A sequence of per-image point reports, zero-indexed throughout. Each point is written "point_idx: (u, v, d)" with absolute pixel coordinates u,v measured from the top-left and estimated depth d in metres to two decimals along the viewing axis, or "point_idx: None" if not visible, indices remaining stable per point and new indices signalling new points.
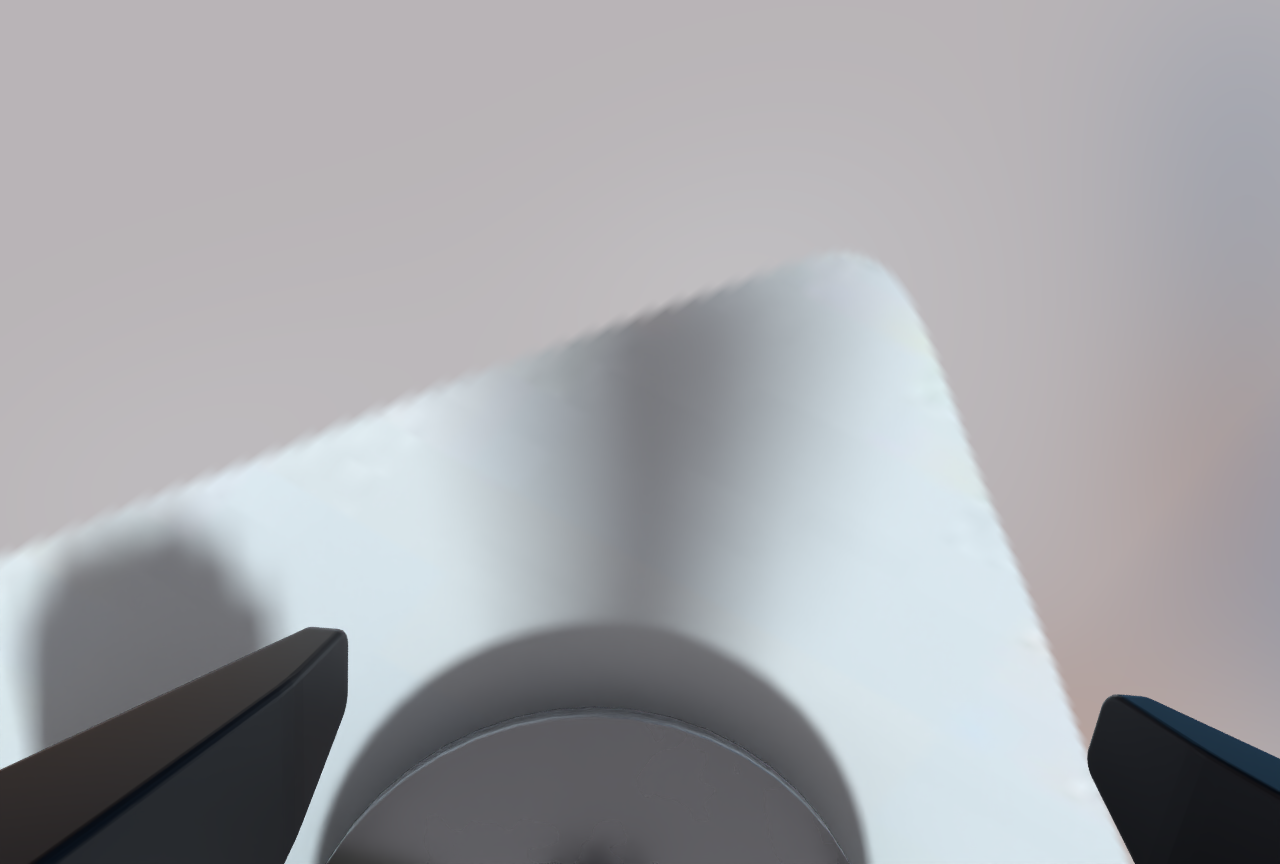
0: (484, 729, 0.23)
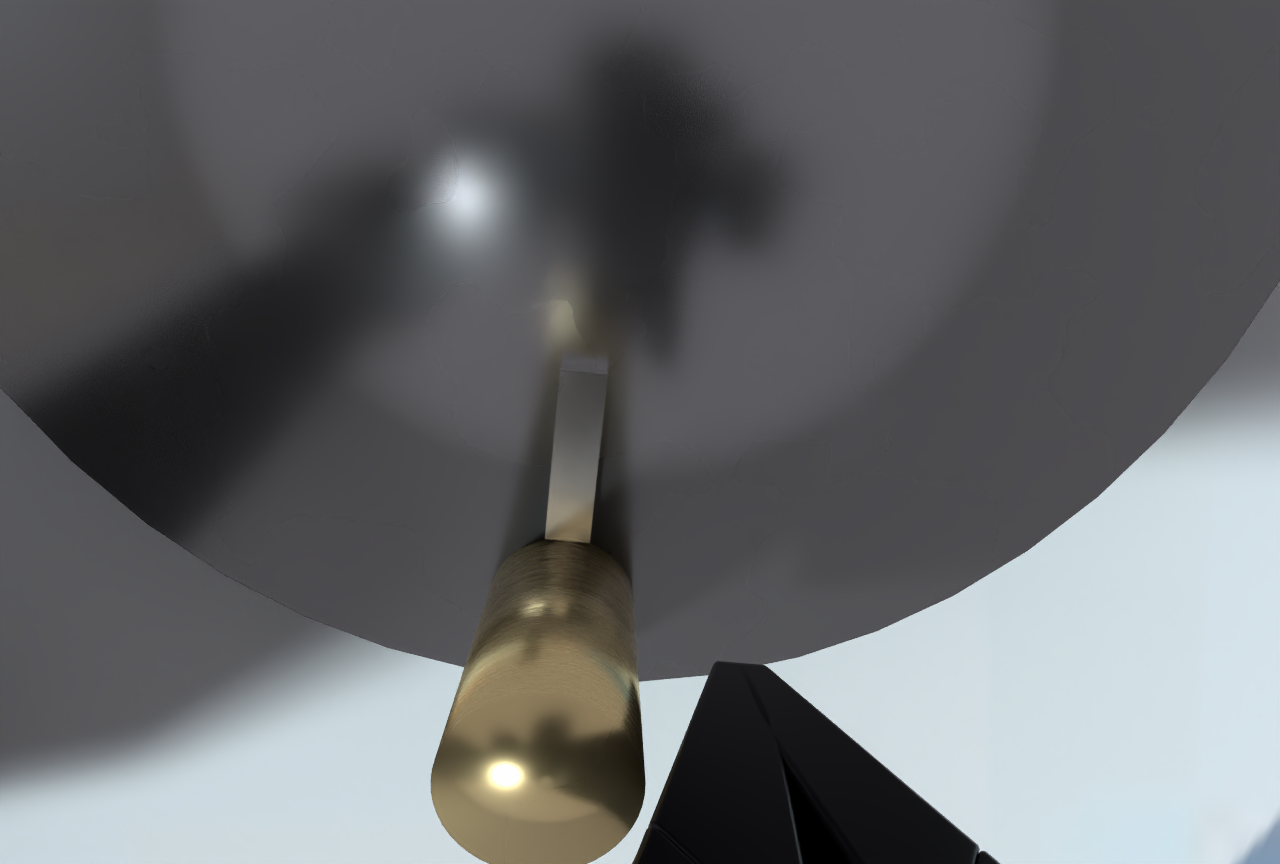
0: None
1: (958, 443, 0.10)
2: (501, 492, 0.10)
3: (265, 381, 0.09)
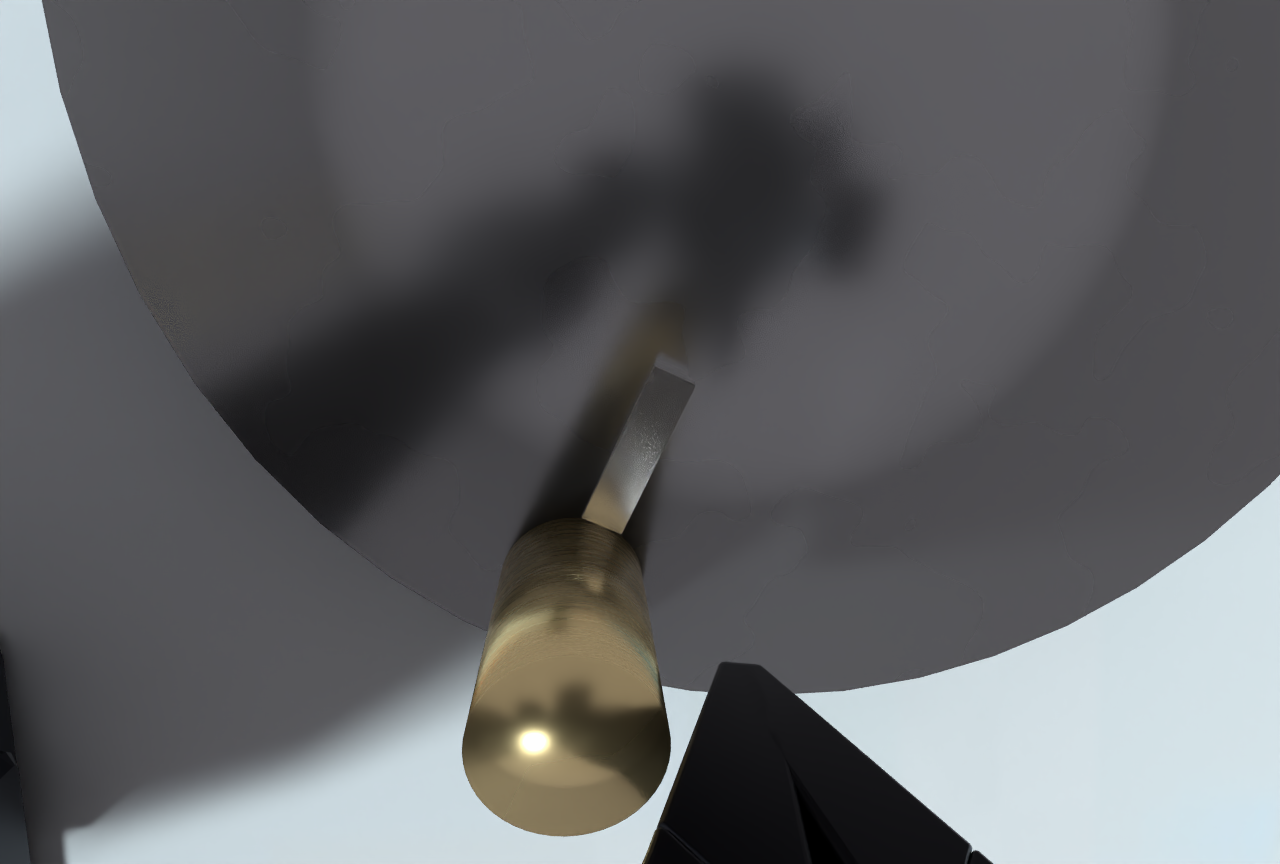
0: None
1: (970, 544, 0.11)
2: (556, 462, 0.10)
3: (370, 284, 0.09)
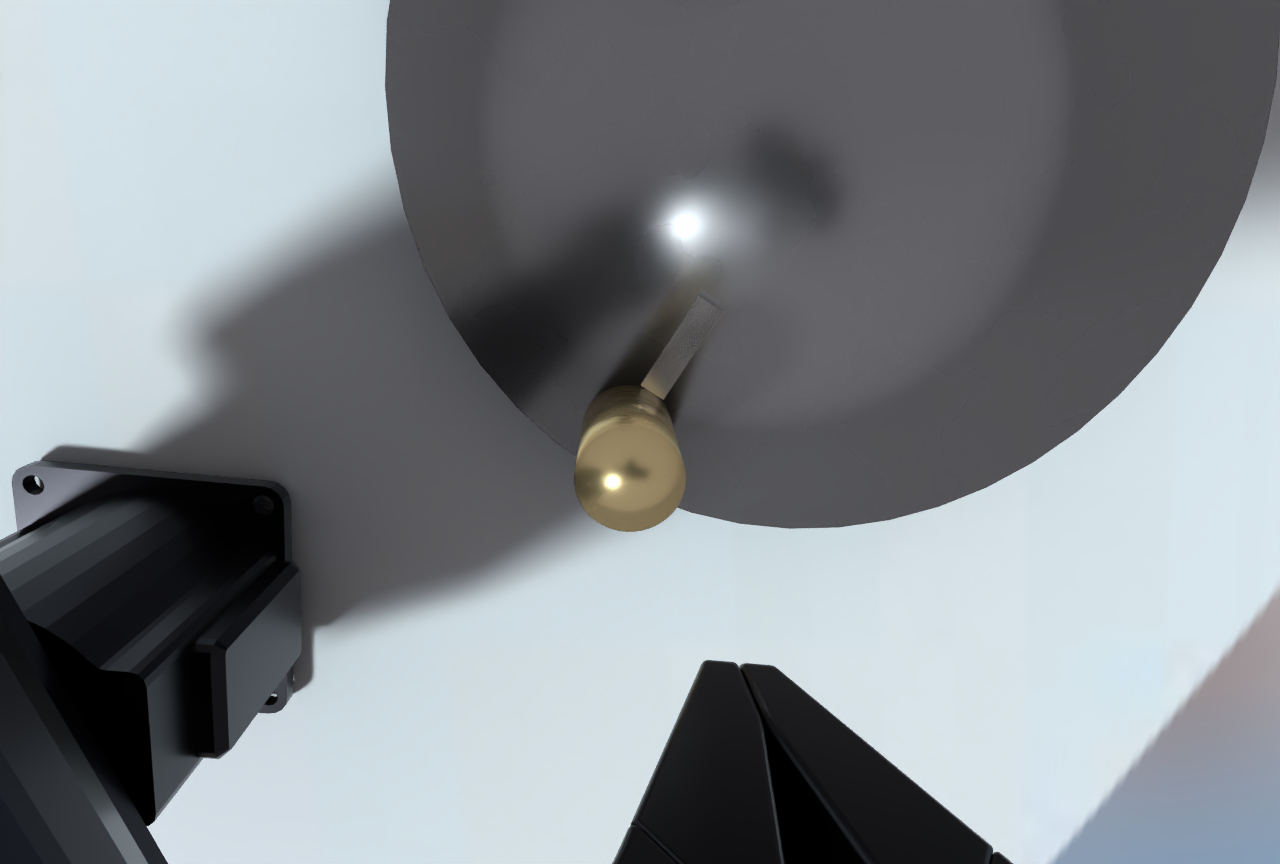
0: None
1: (881, 441, 0.17)
2: (630, 348, 0.16)
3: (538, 222, 0.16)
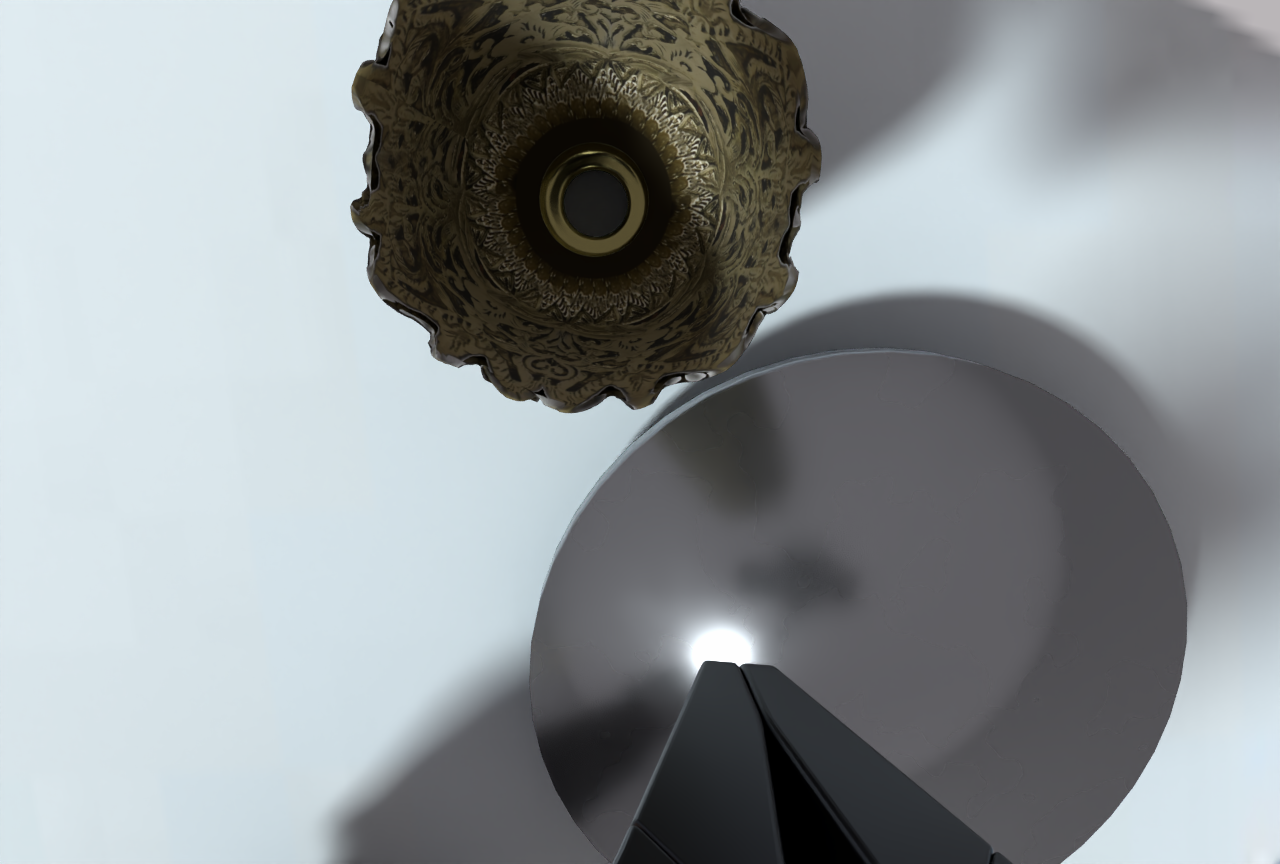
0: None
1: None
2: None
3: (641, 757, 0.21)
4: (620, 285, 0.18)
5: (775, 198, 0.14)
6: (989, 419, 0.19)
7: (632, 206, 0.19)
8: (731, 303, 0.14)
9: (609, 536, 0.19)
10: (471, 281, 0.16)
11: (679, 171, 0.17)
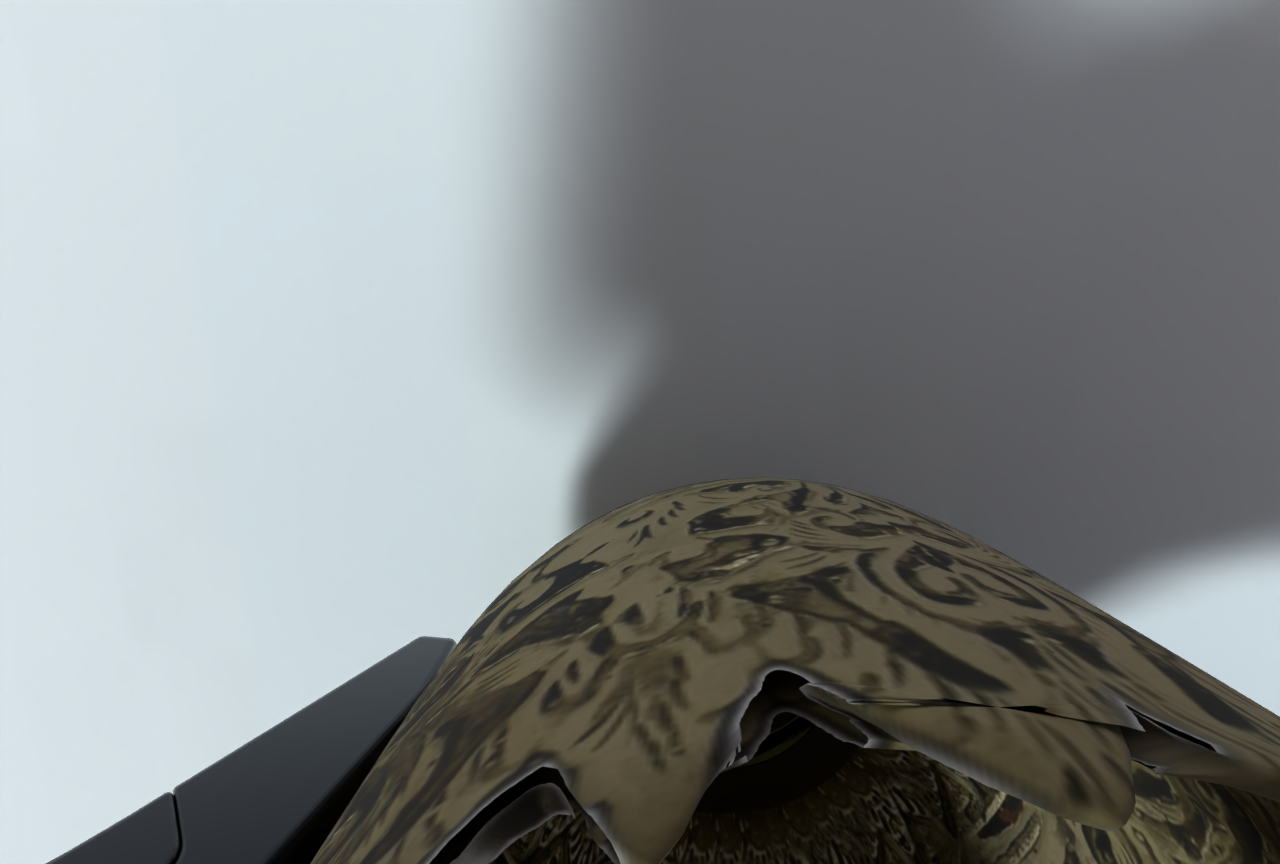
0: None
1: None
2: None
3: None
4: (768, 834, 0.09)
5: None
6: None
7: None
8: None
9: None
10: None
11: None
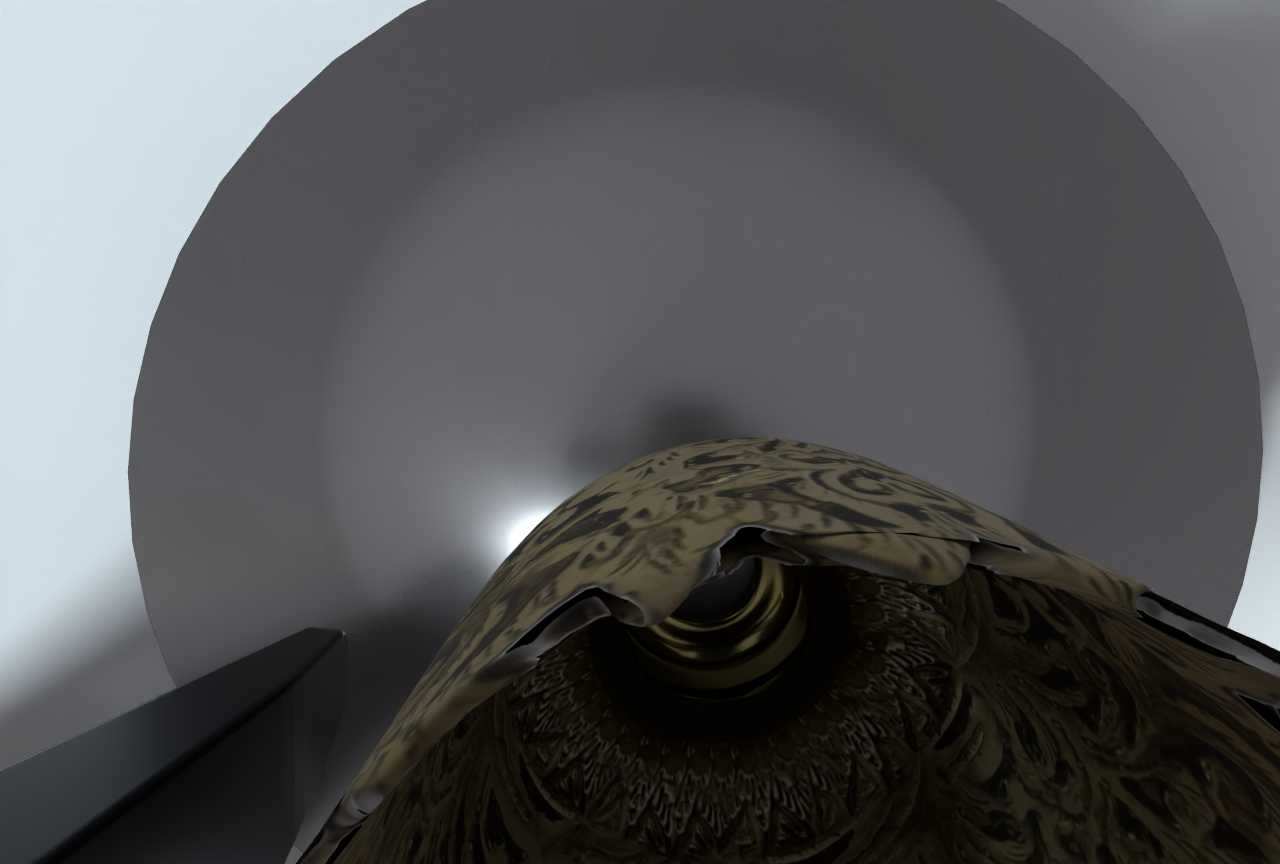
0: None
1: None
2: None
3: None
4: (756, 759, 0.11)
5: None
6: (931, 80, 0.10)
7: (761, 575, 0.12)
8: None
9: (246, 280, 0.11)
10: (516, 863, 0.09)
11: (870, 593, 0.10)
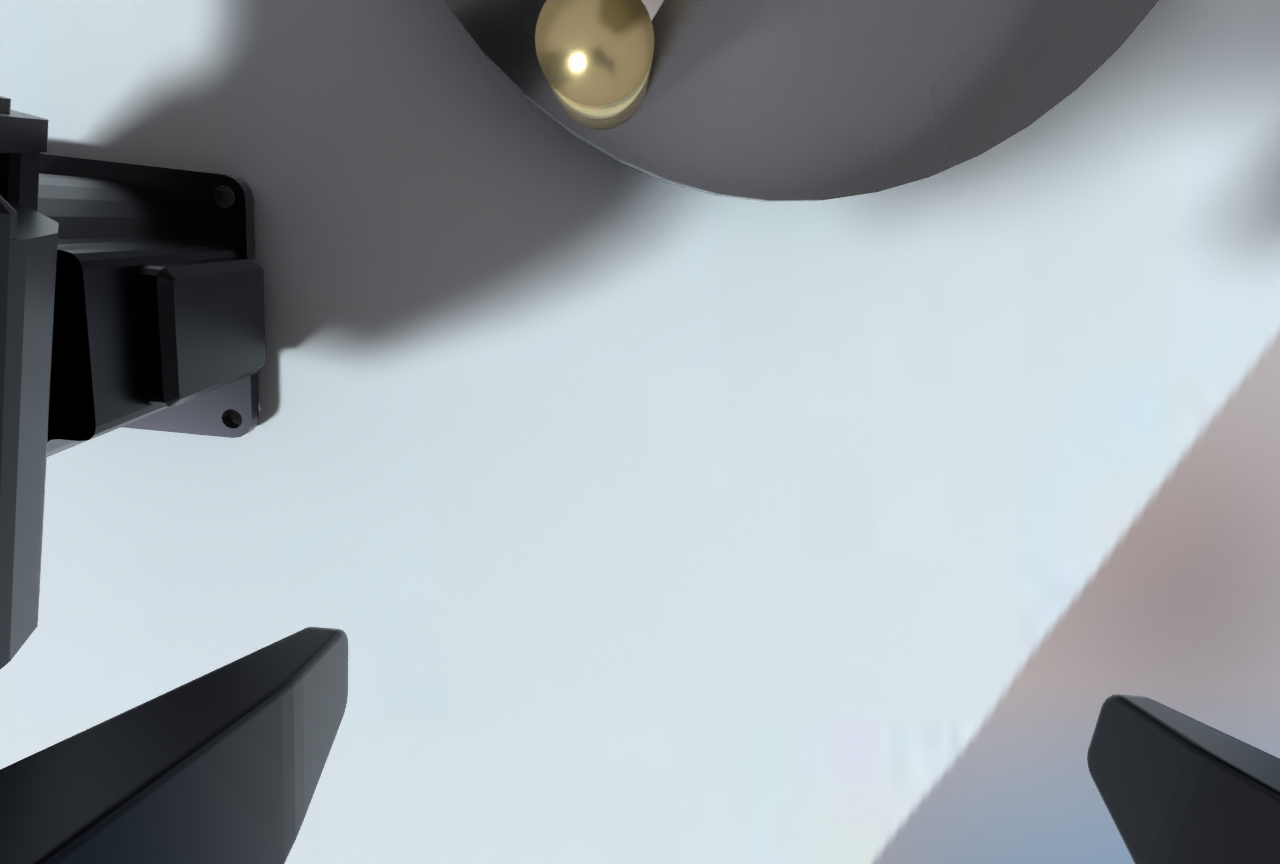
0: None
1: (868, 98, 0.16)
2: None
3: None
4: None
5: None
6: None
7: None
8: None
9: None
10: None
11: None
